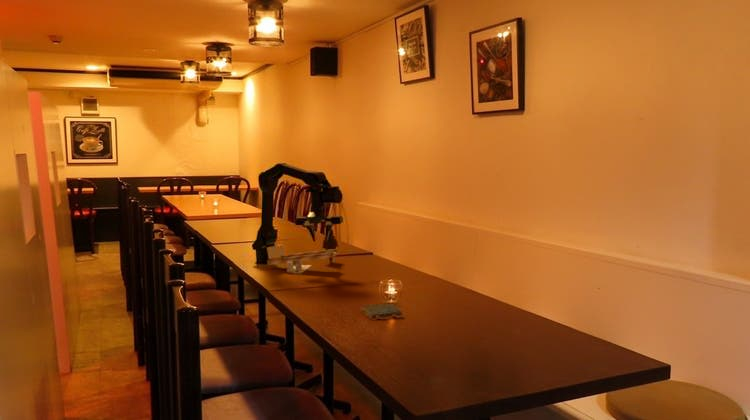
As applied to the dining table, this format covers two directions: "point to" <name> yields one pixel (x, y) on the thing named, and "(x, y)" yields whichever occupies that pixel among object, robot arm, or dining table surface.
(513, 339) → the dining table surface
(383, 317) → the woven mat
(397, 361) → the dining table surface
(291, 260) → the beam
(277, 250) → the tan block
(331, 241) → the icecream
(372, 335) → the dining table surface
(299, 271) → the stand
